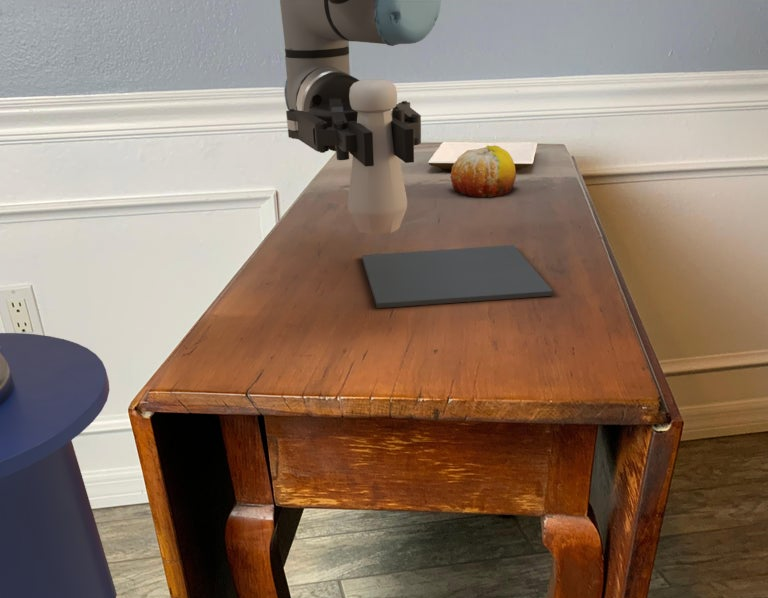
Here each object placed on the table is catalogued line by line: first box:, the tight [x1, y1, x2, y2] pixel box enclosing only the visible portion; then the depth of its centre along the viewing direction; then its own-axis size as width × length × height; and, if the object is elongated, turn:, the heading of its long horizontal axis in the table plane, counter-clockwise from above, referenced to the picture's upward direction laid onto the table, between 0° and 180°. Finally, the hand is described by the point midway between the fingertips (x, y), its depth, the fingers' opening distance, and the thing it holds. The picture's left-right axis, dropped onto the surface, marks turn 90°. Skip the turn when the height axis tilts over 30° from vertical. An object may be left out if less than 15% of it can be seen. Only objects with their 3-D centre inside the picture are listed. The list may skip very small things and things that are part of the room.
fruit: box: [449, 146, 517, 198], centre depth 130 cm, size 11×10×8 cm
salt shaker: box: [346, 78, 408, 236], centre depth 74 cm, size 6×6×13 cm
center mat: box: [361, 244, 554, 309], centre depth 96 cm, size 20×18×1 cm
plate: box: [427, 141, 538, 171], centre depth 148 cm, size 19×19×2 cm
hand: (389, 147), depth 69 cm, fingers closed on salt shaker, 3 cm apart
